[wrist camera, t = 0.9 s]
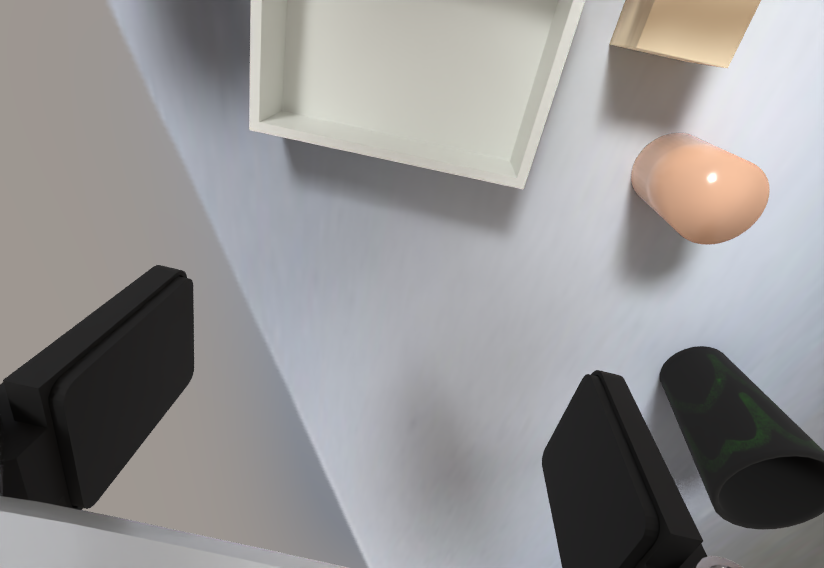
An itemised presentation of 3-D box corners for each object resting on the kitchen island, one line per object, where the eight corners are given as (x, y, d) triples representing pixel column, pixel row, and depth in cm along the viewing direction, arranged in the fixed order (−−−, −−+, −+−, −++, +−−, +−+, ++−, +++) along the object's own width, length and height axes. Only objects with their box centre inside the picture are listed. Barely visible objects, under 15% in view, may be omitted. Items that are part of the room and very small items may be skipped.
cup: (683, 417, 42) (757, 544, 32) (628, 374, 41) (687, 494, 30) (761, 369, 39) (872, 493, 29) (705, 320, 37) (801, 434, 27)
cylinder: (650, 125, 30) (698, 150, 24) (722, 141, 31) (788, 170, 24) (619, 196, 33) (656, 234, 27) (686, 210, 33) (738, 252, 27)
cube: (644, -53, 26) (682, -69, 22) (729, -34, 26) (783, -46, 22) (609, 44, 28) (636, 47, 24) (686, 61, 29) (727, 68, 24)
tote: (287, -127, 26) (252, -158, 21) (584, -58, 26) (610, -75, 22) (277, 116, 32) (249, 130, 28) (514, 167, 33) (523, 189, 28)
